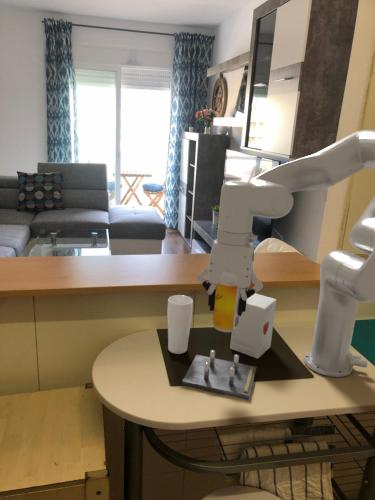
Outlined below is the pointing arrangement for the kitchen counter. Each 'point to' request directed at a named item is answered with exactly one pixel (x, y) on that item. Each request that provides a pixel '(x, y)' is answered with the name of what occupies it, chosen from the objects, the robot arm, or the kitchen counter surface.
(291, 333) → the kitchen counter surface
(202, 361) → the plate
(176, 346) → the drinking glass
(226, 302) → the beer can
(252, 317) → the supplement box
